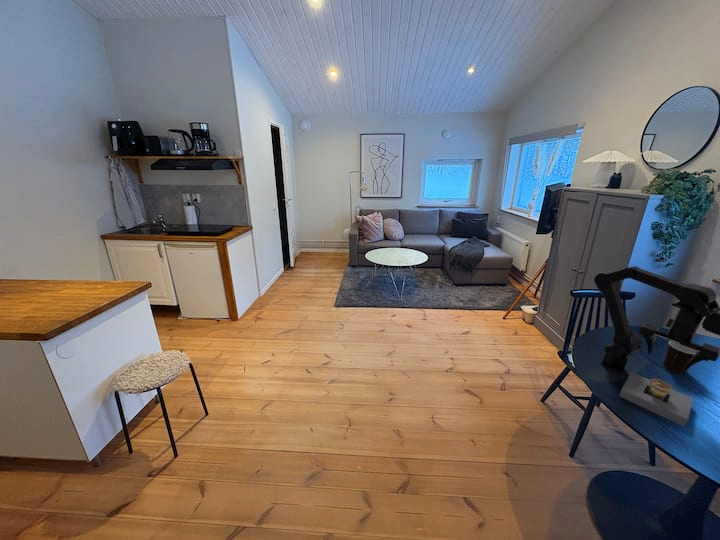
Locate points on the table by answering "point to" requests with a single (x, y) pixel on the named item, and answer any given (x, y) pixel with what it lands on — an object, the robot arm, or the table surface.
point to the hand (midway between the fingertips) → (666, 360)
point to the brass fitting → (659, 389)
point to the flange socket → (657, 400)
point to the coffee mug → (678, 357)
